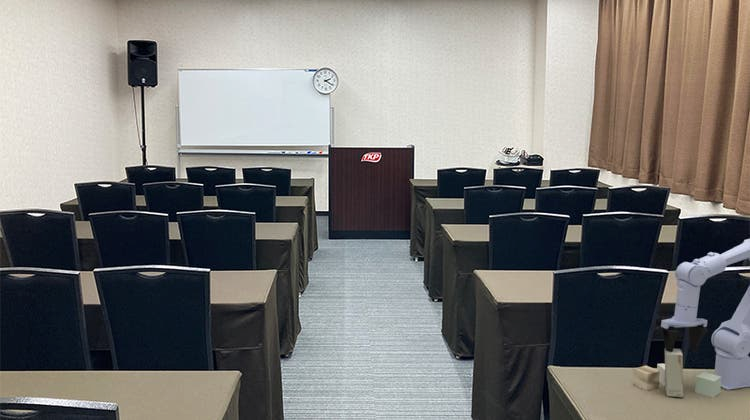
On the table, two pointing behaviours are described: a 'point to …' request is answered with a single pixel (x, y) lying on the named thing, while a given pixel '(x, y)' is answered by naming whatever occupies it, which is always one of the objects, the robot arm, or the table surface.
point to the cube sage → (708, 384)
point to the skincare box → (674, 373)
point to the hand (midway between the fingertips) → (680, 351)
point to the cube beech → (646, 377)
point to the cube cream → (661, 373)
